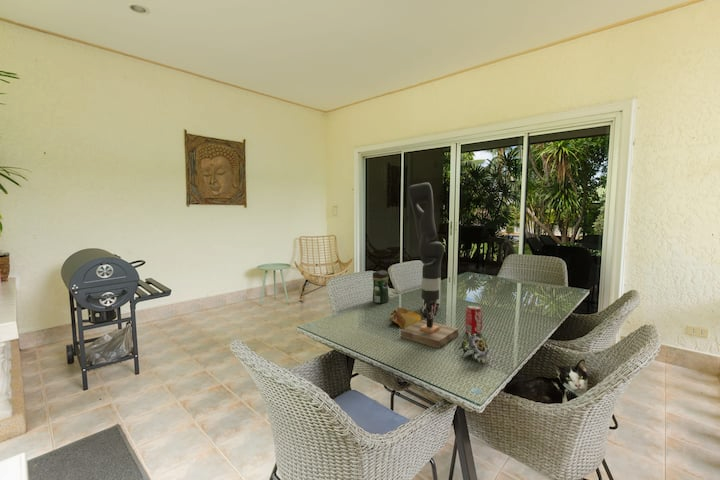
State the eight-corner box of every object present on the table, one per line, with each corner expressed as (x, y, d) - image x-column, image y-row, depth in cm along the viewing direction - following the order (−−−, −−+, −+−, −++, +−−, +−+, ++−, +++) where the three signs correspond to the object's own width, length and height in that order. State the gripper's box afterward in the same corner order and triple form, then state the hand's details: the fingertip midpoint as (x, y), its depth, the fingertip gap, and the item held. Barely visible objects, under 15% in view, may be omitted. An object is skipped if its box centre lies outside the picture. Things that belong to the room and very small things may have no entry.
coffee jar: (380, 298, 208) (380, 268, 206) (390, 301, 203) (390, 270, 201) (370, 302, 201) (370, 271, 199) (380, 304, 196) (380, 272, 194)
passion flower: (481, 376, 124) (481, 359, 117) (453, 363, 130) (452, 346, 123) (492, 352, 130) (493, 334, 123) (465, 340, 136) (464, 322, 129)
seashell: (426, 312, 168) (417, 316, 155) (423, 327, 168) (414, 332, 155) (395, 303, 176) (384, 306, 163) (392, 318, 176) (381, 322, 163)
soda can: (483, 331, 153) (484, 306, 152) (479, 337, 147) (480, 310, 146) (467, 329, 157) (467, 303, 156) (463, 334, 151) (464, 307, 150)
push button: (427, 330, 152) (427, 323, 152) (439, 334, 149) (439, 326, 148) (420, 334, 148) (420, 327, 148) (432, 338, 144) (432, 330, 144)
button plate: (422, 325, 161) (422, 319, 161) (458, 335, 149) (458, 328, 149) (401, 337, 147) (401, 330, 147) (438, 348, 136) (438, 341, 135)
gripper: (430, 283, 154) (429, 321, 155) (414, 289, 144) (414, 329, 145) (445, 286, 149) (444, 324, 150) (430, 292, 139) (429, 333, 140)
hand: (429, 326), depth 148 cm, fingers closed
